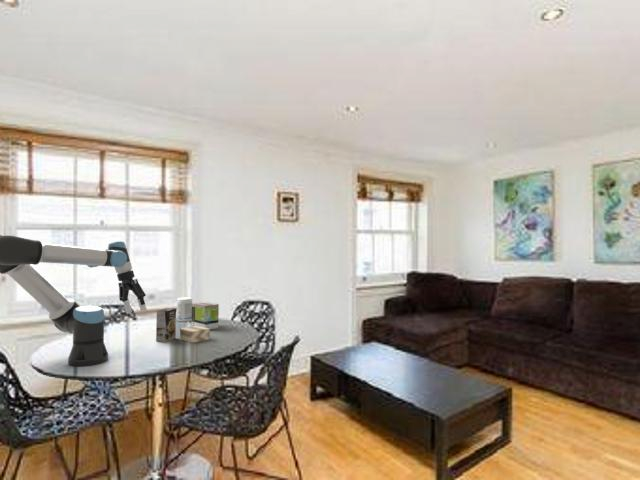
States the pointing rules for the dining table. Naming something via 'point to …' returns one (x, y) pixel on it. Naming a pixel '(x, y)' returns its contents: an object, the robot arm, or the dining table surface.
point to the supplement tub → (184, 309)
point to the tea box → (205, 315)
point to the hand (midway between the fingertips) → (136, 312)
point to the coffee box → (166, 325)
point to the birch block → (194, 334)
